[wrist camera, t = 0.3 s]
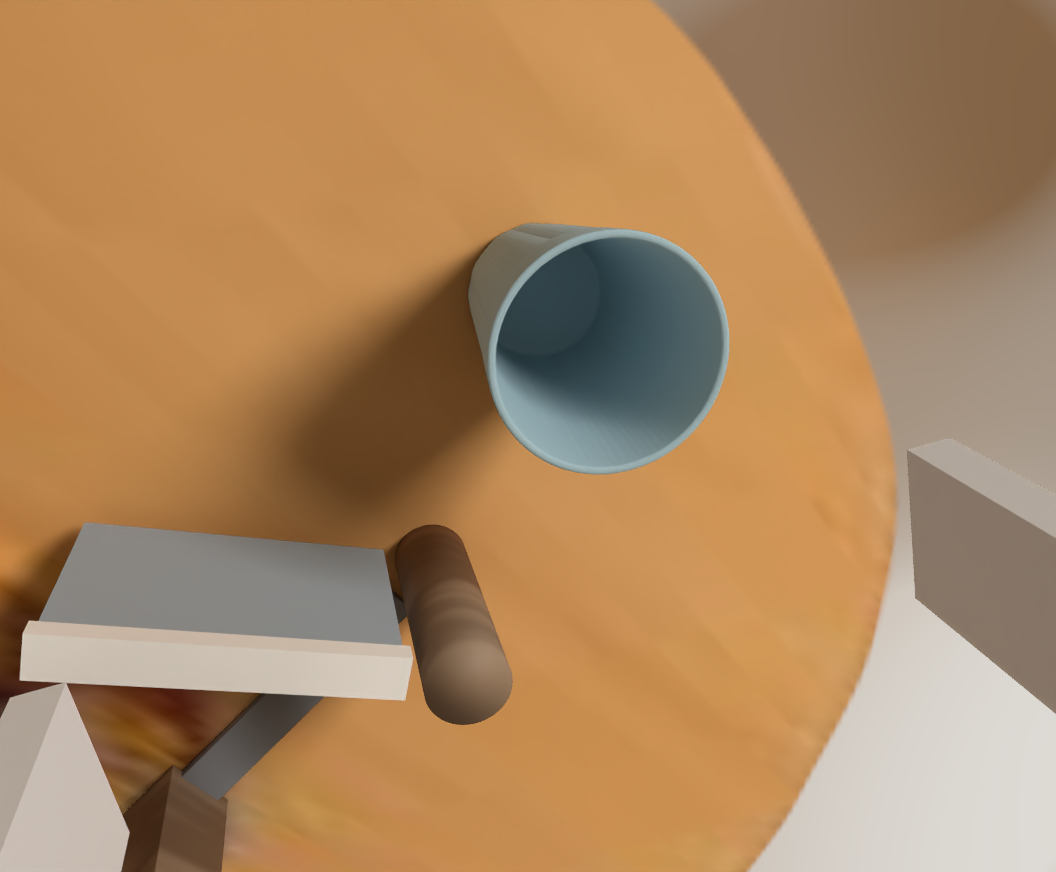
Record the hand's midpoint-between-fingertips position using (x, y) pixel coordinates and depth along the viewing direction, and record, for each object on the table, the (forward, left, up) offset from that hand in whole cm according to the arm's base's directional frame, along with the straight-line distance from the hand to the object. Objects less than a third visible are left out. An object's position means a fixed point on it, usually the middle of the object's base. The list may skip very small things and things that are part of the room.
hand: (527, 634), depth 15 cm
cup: (+4, +4, -26) cm, 27 cm away
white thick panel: (+3, -11, -25) cm, 27 cm away
